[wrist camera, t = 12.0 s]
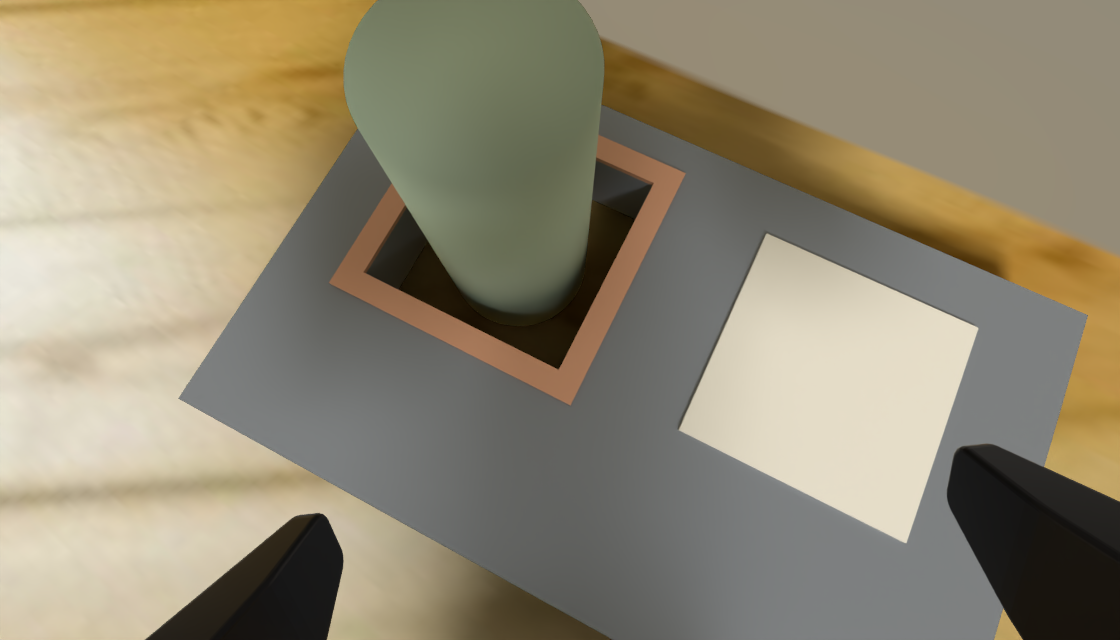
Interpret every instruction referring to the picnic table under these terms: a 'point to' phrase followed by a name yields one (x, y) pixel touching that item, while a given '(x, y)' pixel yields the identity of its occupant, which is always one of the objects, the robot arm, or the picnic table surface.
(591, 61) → the post
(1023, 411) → the slotted grey base
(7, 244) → the picnic table surface
